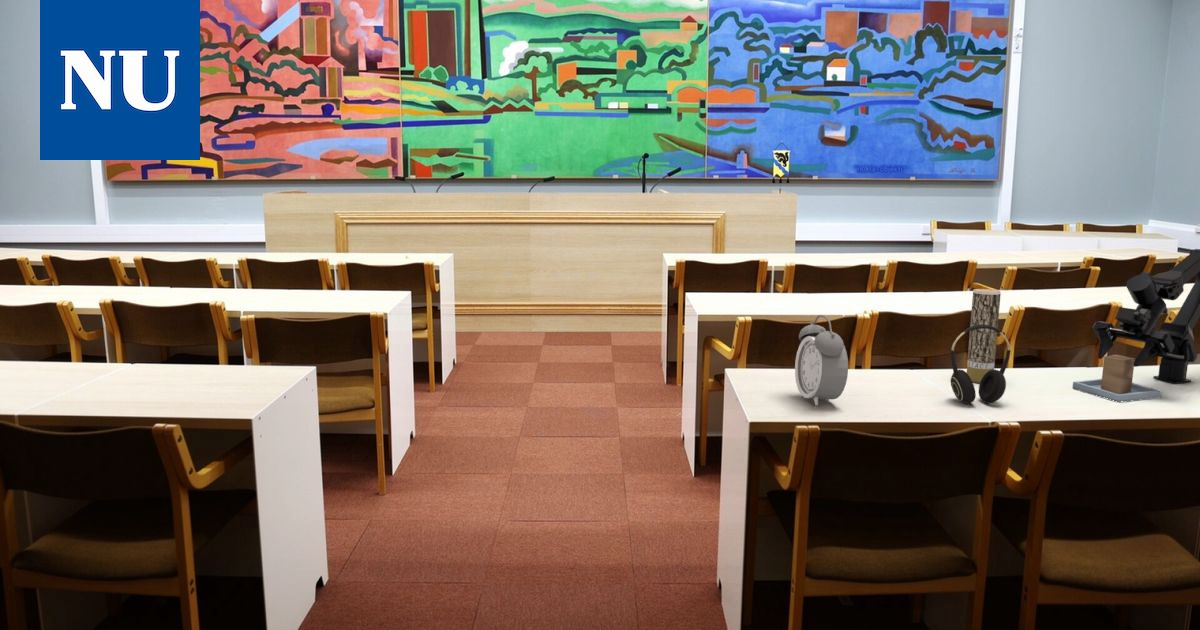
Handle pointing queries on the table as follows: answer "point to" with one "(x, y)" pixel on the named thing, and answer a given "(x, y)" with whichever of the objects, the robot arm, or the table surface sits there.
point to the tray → (1135, 394)
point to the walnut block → (1117, 374)
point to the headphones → (990, 383)
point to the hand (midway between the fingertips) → (1116, 361)
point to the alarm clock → (820, 363)
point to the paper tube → (983, 333)
